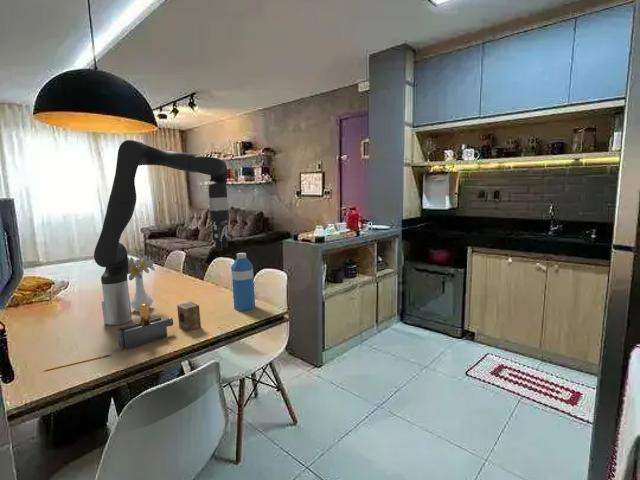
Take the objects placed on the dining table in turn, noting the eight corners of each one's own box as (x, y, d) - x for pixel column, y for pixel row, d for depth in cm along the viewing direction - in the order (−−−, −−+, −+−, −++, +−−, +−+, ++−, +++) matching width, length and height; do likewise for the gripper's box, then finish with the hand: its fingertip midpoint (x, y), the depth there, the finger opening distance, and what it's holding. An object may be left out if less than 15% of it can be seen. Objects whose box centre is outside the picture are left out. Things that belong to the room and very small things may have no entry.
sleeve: (123, 351, 116) (121, 332, 115) (118, 346, 120) (116, 328, 119) (167, 337, 127) (165, 320, 126) (161, 333, 130) (160, 316, 129)
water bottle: (234, 312, 151) (230, 256, 147) (233, 305, 160) (230, 252, 156) (256, 309, 153) (252, 254, 150) (254, 303, 162) (251, 251, 159)
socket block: (187, 331, 131) (185, 309, 130) (179, 327, 136) (177, 305, 135) (200, 327, 135) (199, 305, 134) (192, 323, 140) (190, 301, 139)
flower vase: (126, 318, 147) (119, 261, 144) (127, 306, 163) (121, 254, 160) (160, 312, 153) (154, 257, 150) (157, 301, 169) (152, 251, 166)
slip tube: (127, 340, 118) (123, 310, 116) (124, 337, 120) (120, 308, 119) (173, 326, 129) (171, 299, 128) (170, 324, 131) (167, 297, 130)
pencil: (112, 356, 114) (112, 353, 114) (112, 356, 113) (111, 353, 114) (39, 374, 104) (39, 371, 104) (38, 373, 103) (38, 371, 104)
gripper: (214, 208, 145) (217, 246, 148) (204, 210, 131) (207, 252, 134) (232, 207, 145) (235, 245, 148) (223, 209, 131) (226, 251, 134)
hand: (222, 248), depth 141 cm, fingers open, 8 cm apart
